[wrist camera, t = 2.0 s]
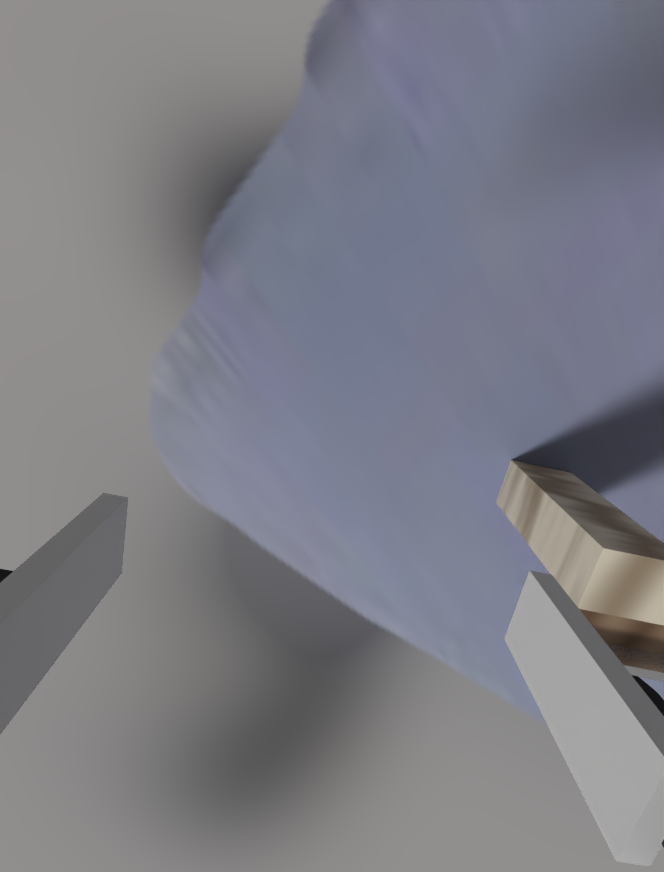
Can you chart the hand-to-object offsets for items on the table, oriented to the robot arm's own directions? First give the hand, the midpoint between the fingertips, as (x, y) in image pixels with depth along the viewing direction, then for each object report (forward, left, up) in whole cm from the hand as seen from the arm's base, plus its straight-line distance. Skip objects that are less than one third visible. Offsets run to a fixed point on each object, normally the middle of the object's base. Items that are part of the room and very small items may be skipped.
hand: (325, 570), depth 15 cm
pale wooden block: (-16, +15, -29) cm, 36 cm away
